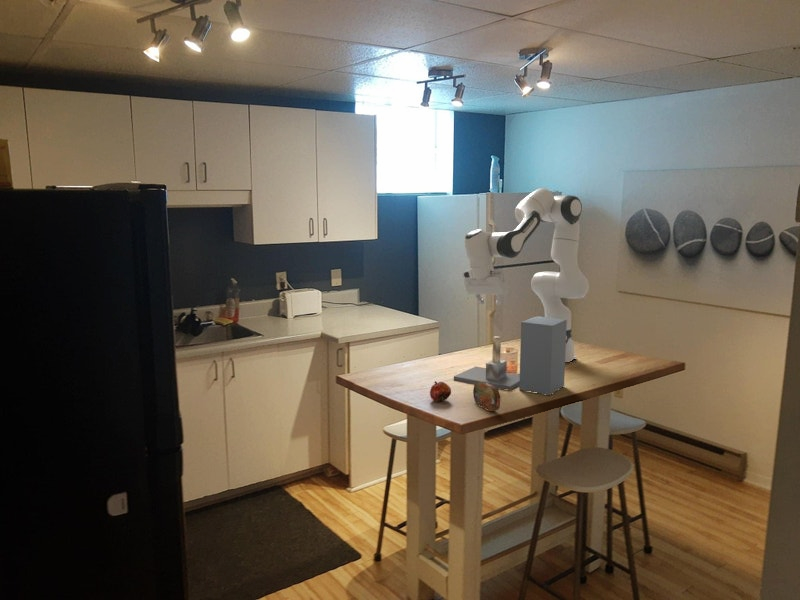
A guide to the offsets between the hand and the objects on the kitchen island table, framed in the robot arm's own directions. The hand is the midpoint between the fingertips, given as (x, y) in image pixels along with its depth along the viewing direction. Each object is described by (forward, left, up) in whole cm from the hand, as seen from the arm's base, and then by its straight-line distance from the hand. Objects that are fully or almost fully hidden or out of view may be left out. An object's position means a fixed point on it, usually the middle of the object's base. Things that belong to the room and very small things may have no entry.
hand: (490, 304), depth 248 cm
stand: (+21, +14, -29) cm, 39 cm away
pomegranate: (+29, -27, -29) cm, 50 cm away
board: (+6, -1, -29) cm, 30 cm away
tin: (+38, -13, -29) cm, 50 cm away
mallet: (+6, -1, -20) cm, 21 cm away
